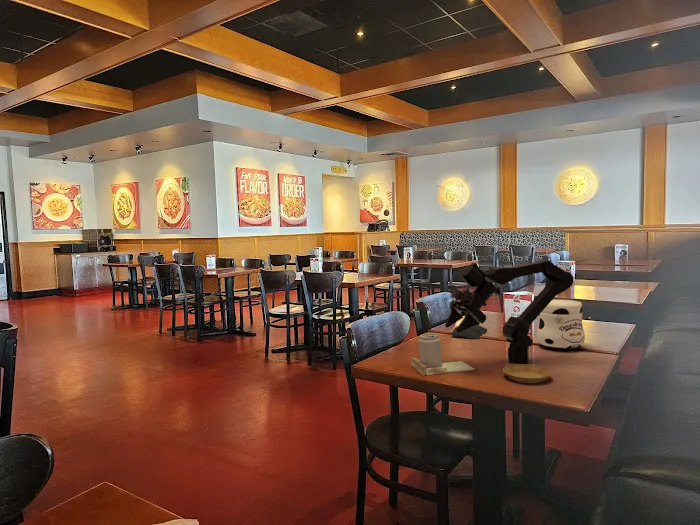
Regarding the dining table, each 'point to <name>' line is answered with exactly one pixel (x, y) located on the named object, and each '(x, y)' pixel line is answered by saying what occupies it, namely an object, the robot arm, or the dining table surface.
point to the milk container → (561, 325)
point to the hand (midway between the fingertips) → (451, 329)
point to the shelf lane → (427, 371)
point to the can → (430, 350)
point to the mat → (457, 366)
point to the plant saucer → (527, 373)
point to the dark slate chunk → (470, 332)
